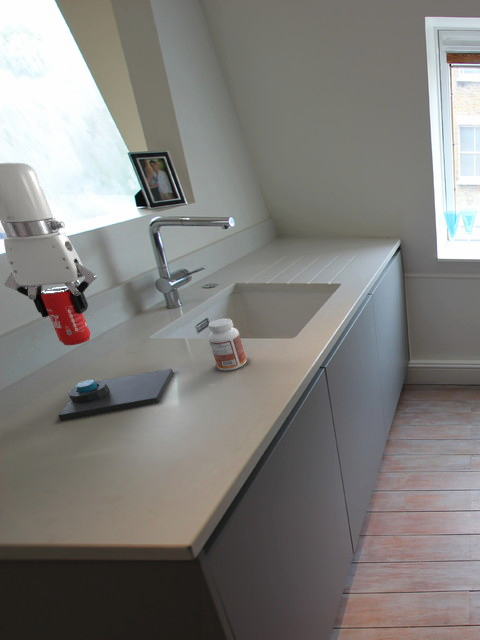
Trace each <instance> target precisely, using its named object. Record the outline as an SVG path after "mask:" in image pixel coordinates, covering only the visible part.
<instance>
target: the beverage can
mask: <svg viewBox="0 0 480 640" xmlns="http://www.w3.org/2000/svg"><path fill="white" fill-rule="evenodd" d="M41 293H42V295H41V298H42V300H43V303H44V305H45V307H46V310H47V312H48V314H49V316H48V318H49V319H50V321H51V324H52V326H53V329H54V331H55V334H56V336H57V338H58V340H59V342H61V343H62V344H63V345H64V346H76V345H80V344H83V343H86V342H89V341H90V337H91V332H90V329H89V326H88V324H87V321H86V319H85V316H84V314H83V313H84V312H83V313H81V314H79V313H77V311H76V309H75V306H74V304H73V301H72V299H71V297H72V296H73V294H72V292H71V291H70V290H69V289H68V287H67V286H55V287H50V288H47V289H42V292H41Z"/></svg>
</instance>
